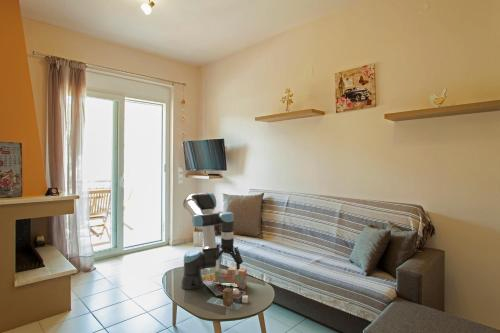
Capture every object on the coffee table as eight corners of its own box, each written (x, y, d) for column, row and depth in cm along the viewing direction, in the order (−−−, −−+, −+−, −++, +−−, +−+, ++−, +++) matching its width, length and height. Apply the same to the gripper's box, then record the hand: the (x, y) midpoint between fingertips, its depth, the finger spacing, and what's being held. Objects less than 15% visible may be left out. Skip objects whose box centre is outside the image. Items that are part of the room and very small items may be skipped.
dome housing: (224, 300, 183) (224, 295, 183) (232, 293, 192) (232, 288, 192) (238, 303, 178) (238, 298, 178) (245, 296, 187) (245, 291, 187)
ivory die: (242, 302, 179) (242, 297, 179) (243, 300, 183) (243, 294, 182) (247, 303, 179) (247, 297, 179) (248, 300, 182) (248, 295, 182)
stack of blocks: (215, 285, 204) (214, 267, 203) (218, 281, 210) (218, 264, 209) (244, 289, 198) (244, 271, 197) (246, 285, 204) (246, 267, 203)
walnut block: (222, 305, 176) (222, 290, 175) (226, 301, 180) (226, 287, 179) (229, 306, 174) (229, 292, 173) (233, 303, 178) (233, 288, 177)
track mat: (206, 302, 180) (206, 301, 180) (212, 297, 186) (212, 296, 186) (237, 310, 170) (237, 310, 170) (242, 305, 176) (242, 304, 176)
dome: (228, 298, 183) (228, 289, 183) (233, 293, 189) (233, 285, 189) (237, 300, 180) (237, 291, 180) (242, 295, 186) (242, 287, 186)
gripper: (206, 236, 178) (206, 270, 179) (242, 242, 167) (242, 278, 168) (213, 233, 185) (213, 266, 186) (248, 239, 174) (248, 273, 175)
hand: (227, 272), depth 177 cm, fingers open, 13 cm apart
